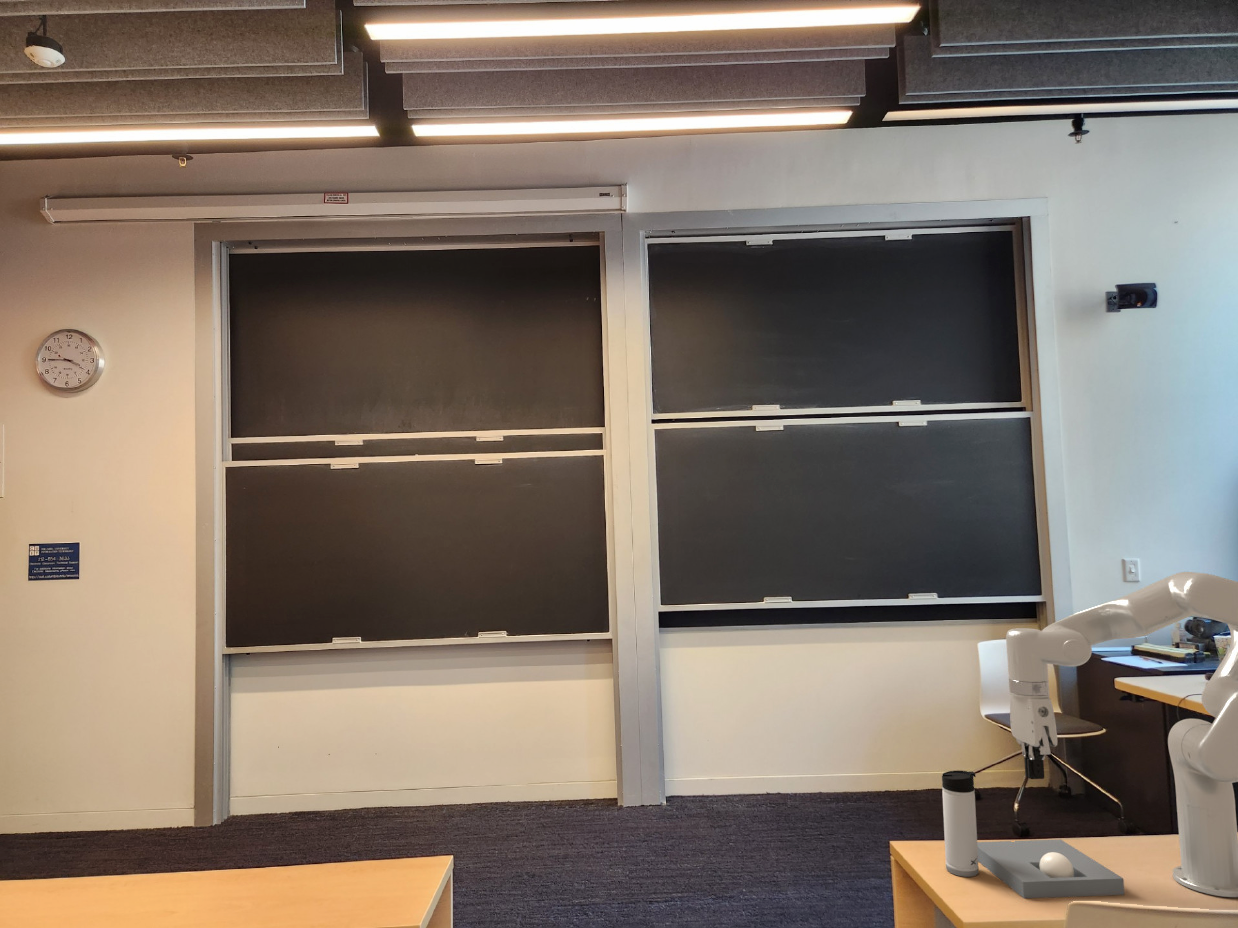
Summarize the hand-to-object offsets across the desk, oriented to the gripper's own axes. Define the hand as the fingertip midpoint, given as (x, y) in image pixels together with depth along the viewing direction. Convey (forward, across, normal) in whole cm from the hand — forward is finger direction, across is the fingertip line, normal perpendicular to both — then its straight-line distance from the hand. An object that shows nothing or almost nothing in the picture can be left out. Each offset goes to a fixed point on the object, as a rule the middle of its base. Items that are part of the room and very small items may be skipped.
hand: (1034, 777), depth 166 cm
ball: (+16, -6, 0) cm, 17 cm away
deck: (+19, -1, 0) cm, 19 cm away
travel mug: (+19, +2, +16) cm, 25 cm away
